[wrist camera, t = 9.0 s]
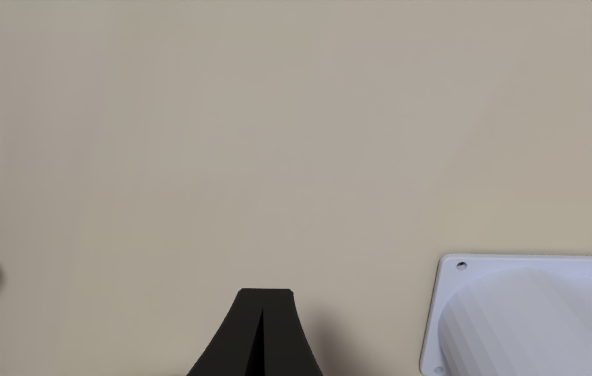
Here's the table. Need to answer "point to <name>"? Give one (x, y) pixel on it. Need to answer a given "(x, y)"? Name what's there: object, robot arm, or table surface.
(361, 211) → the table surface
